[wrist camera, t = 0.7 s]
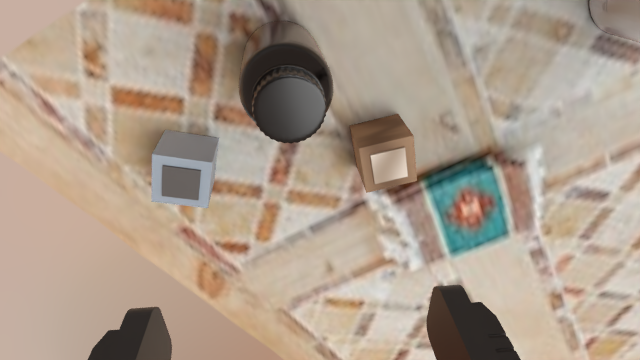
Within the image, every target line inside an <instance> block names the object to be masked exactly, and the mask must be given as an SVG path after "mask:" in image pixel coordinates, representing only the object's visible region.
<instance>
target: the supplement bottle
mask: <svg viewBox="0 0 640 360" xmlns="http://www.w3.org/2000/svg"><path fill="white" fill-rule="evenodd" d="M239 94H240V99H241V103H242V105H243V107H244V109H245V111H246V113H247V114H248V115H249V117H250V118H251V119H252V120H253V121H254V122H255V123H256V125H257V126H258V127H259V128H260V131H262V132H264V134H265V135H266V136H269V137H270V138H271V139H274V140H276V141H277V142H283V143H287V142H288V143H294V142H300V141H304V140H306V138H309V137H311V136H312V134H314V133H316V131H317V130H318V129H319V128H320V127H321V124H322V123H323V122H324V117H325V116H326V112H327V110H328V108H329V106H330V104H331V101H332V96H333V80H332V75H331V72H330V69H329V67H328V65H327V63H326V61H325V59H324V57H323V55H322V53H321V51H320V49H319V47H318V45H317V43H316V41H315V40H314V38H313V37H312V35H311V34H310V33H309V32H308V31H307V30H305V29H304V28H303V27H301V26H300V25H298V24H295V23H293V22H289V21H274V22H270V23H267V24H265V25H263V26H261V27H260V28H258V29H257V30H256V31H255V32H254V33H253V34H252V35H251V37H250V38H249V40H248V42H247V44H246V46H245V50H244V54H243V60H242V66H241V72H240V79H239Z"/></svg>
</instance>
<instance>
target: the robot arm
mask: <svg viewBox="0 0 640 360" xmlns="http://www.w3.org/2000/svg"><path fill="white" fill-rule="evenodd" d="M589 7H590V12H591V16H592V18H593V20H594V22H595V24H596V25H597V26H598V27H599V28H600V29H601V30H603V31H605V32H607V33H609V34H613V35H616V36H619V37H623V38H626V39H630V40H633V41H636V42H640V0H590V1H589ZM427 332H428V337H429V340H430V343H431V346H432V348H433V351H434V354H435V357H436V359H437V360H521V359H520V358H519V356H518V354H517V352H516V351H514V347H513V345H512V343H511V342H510V340H509V338H508V337H506V333H505V331H504V329H503V327H502V326H501V324H500V322H499V320H498V319H497V317H496V316H495V315H494V314H493V313H492V312H491V311H490V310H489V309H488V308H487V307H486V306H485V305H484V304H483V303H481V302H475V303H471V301H470V300H469V298H468V296H467V294H466V292H465V290H464V288H463V287H462V286H461V285H449V286H436V287H434V288H433V292H432V296H431V301H430V306H429V311H428V315H427ZM171 353H172V345H171V338H170V335H169V333H168V330H167V327H166V324H165V321H164V319H163V316H162V313H161V311H160V309H159V307H148V308H135V309H130V310H128V311H127V313H126V315H125V317H124V320H123V322H122V325H121V327H120V329H119V330H110V331H108V332H107V333H106V334H105V335H104V336H103V338H102V339H101V340H100V341H99V342H98V343H97V344H96V345H95V347H94V348H93V349H92V352H91V354H90V356H89V358H88V360H171Z"/></svg>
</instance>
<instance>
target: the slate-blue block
mask: <svg viewBox="0 0 640 360" xmlns="http://www.w3.org/2000/svg"><path fill="white" fill-rule="evenodd" d="M218 140H219V138H216V137H210V136H203V135H197V134H190V133H184V132H177V131H171V130H165V131H164V133H163V135H162V137H161V139H160V140H159V142H158V144H157V146H156V148H155V150H154V151H153V153H152V202H160V203H168V204H177V205H185V206H194V207H202V208H208V205H209V201H210V197H211V192H212V188H213V184H214V178H215V169H216V159H217V150H218Z"/></svg>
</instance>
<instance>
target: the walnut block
mask: <svg viewBox="0 0 640 360" xmlns="http://www.w3.org/2000/svg"><path fill="white" fill-rule="evenodd" d="M350 131H351V136H352V142H353V147H354V153H355V158H356V164H357V168H358V171H359V173H360V176H361V179H362V182H363V184H364V187H365V190H366V192H372V191H376V190H380V189H384V188H389V187H393V186H397V185H401V184H406V183H410V182H414V181H417V174H416V162H415V149H414V137H413V134H412V133H411V132H410V130H409V129H408V127H407V126H406V124H405V123H404V122H403V120H402V119H401V117H400V116H399V115H398V114H396V115H392V116H388V117H383V118H379V119H375V120H371V121H367V122H362V123H358V124H354V125H350Z"/></svg>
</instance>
